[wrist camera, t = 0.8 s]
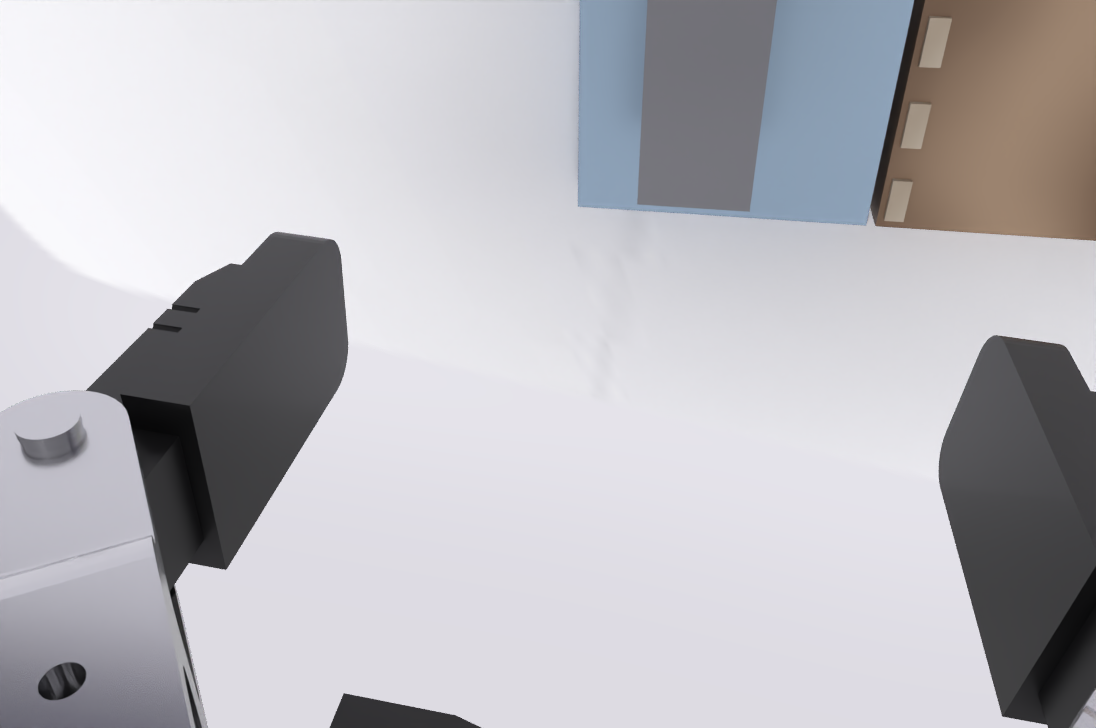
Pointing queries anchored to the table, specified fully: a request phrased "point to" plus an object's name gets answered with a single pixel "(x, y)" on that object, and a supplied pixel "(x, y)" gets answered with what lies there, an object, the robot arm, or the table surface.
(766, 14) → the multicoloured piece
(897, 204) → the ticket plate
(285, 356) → the robot arm
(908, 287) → the table surface
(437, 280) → the table surface
